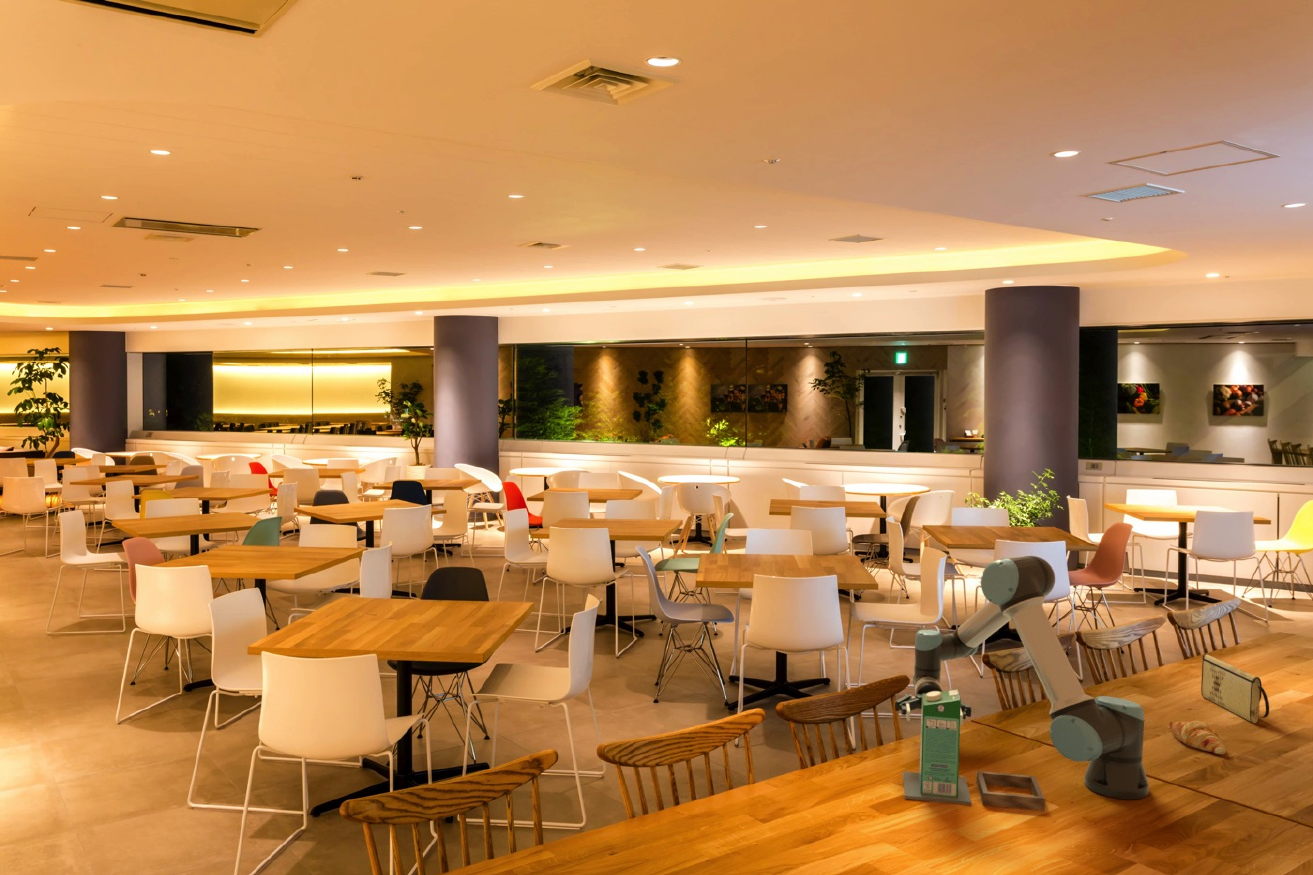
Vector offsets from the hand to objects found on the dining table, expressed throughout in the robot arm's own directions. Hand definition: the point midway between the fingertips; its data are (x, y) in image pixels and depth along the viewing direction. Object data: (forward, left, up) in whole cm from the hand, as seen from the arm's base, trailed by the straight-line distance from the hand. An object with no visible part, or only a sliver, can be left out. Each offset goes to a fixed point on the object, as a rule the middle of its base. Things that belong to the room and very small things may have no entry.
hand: (934, 718), depth 263 cm
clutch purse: (-99, -79, -15) cm, 128 cm away
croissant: (-77, -42, -15) cm, 89 cm away
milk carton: (0, +12, -14) cm, 19 cm away
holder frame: (-18, +10, -15) cm, 26 cm away
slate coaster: (0, +10, -15) cm, 18 cm away
